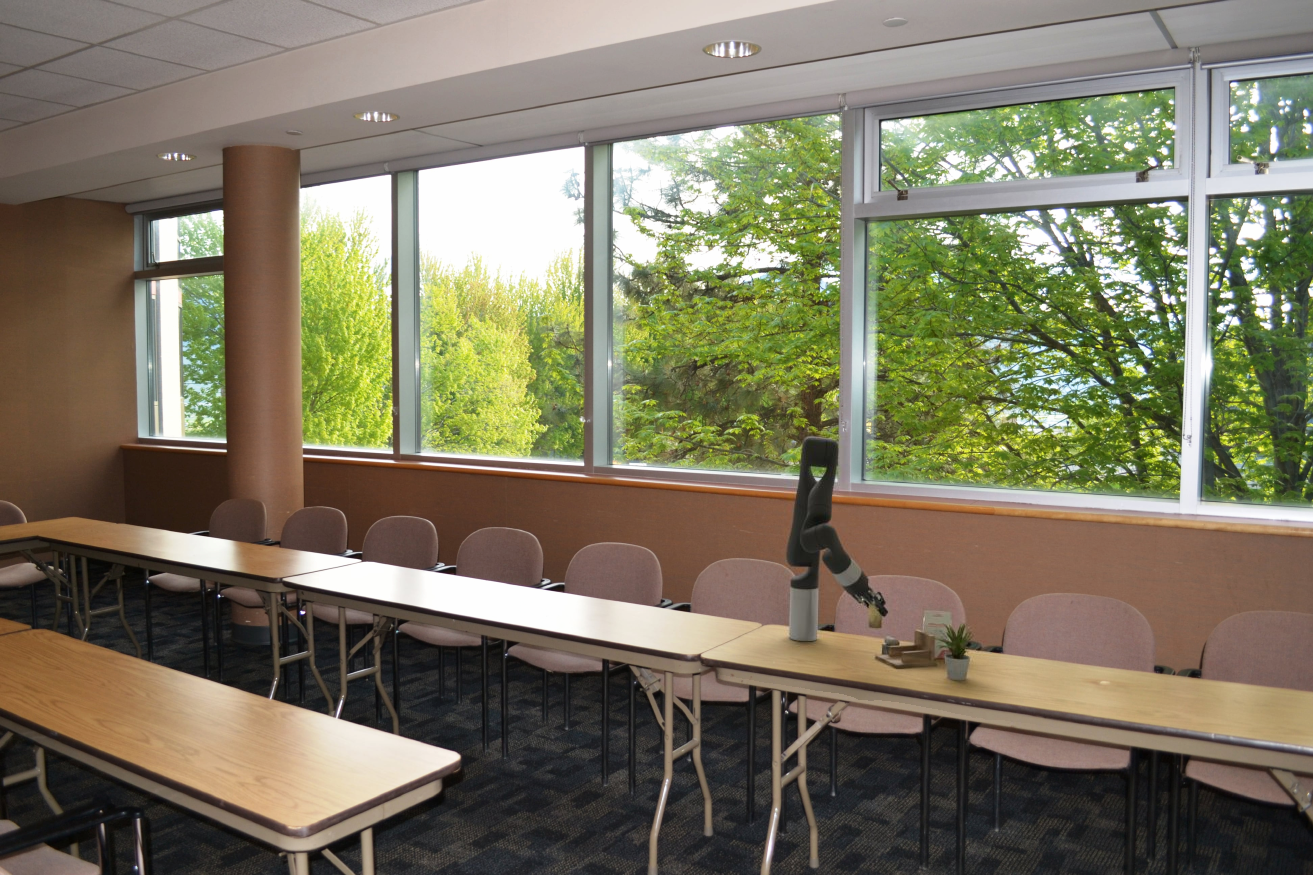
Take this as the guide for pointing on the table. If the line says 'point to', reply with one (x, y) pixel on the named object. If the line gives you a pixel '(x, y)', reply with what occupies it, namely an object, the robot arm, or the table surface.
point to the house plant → (956, 652)
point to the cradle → (909, 651)
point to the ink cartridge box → (935, 623)
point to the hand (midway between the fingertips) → (880, 612)
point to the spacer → (874, 617)
